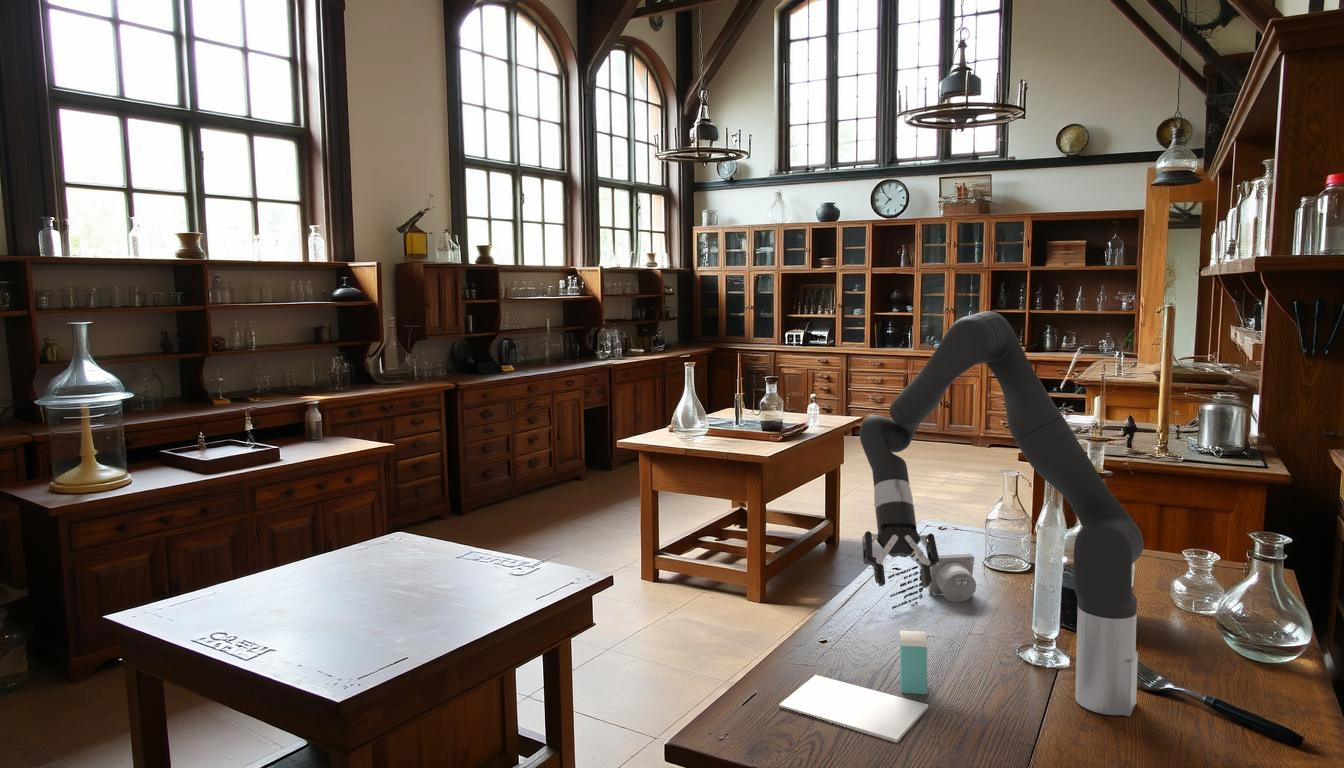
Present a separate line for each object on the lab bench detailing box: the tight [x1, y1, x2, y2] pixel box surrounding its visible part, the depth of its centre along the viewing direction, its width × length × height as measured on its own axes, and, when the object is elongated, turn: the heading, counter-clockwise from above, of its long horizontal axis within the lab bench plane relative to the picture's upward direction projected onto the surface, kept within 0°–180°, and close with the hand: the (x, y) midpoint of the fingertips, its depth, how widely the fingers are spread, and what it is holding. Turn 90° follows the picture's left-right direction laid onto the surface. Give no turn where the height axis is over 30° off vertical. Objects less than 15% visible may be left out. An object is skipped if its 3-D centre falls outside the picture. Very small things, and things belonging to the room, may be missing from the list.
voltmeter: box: [887, 553, 977, 610], centre depth 202 cm, size 27×11×10 cm, turn 128°
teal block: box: [899, 630, 928, 695], centre depth 163 cm, size 4×4×10 cm
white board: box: [778, 674, 929, 744], centre depth 156 cm, size 22×14×1 cm, turn 54°
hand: (904, 586), depth 169 cm, fingers open, 8 cm apart
